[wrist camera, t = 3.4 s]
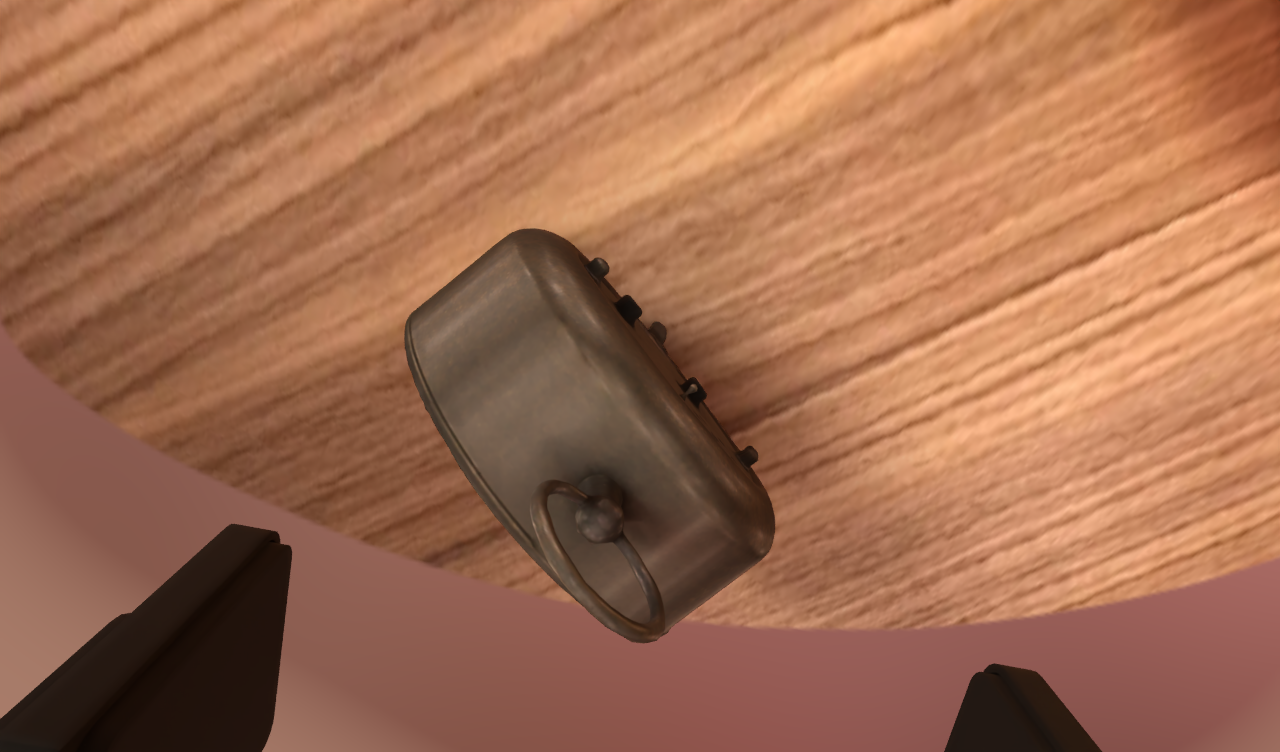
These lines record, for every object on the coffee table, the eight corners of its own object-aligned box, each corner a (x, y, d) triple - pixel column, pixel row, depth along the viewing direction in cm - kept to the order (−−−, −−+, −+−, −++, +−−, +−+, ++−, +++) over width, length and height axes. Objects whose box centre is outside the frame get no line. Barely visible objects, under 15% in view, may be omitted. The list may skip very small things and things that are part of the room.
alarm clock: (449, 285, 27) (219, 455, 11) (572, 185, 26) (506, 220, 11) (645, 515, 30) (677, 915, 14) (763, 429, 29) (938, 750, 13)
